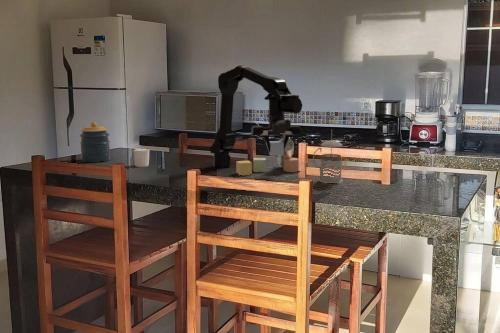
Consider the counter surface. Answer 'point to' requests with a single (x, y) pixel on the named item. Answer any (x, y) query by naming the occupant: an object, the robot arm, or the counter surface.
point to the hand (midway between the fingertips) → (276, 152)
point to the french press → (330, 162)
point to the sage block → (259, 165)
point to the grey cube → (276, 148)
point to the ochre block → (244, 167)
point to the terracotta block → (291, 165)
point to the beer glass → (286, 152)
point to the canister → (94, 144)
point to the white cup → (141, 157)
